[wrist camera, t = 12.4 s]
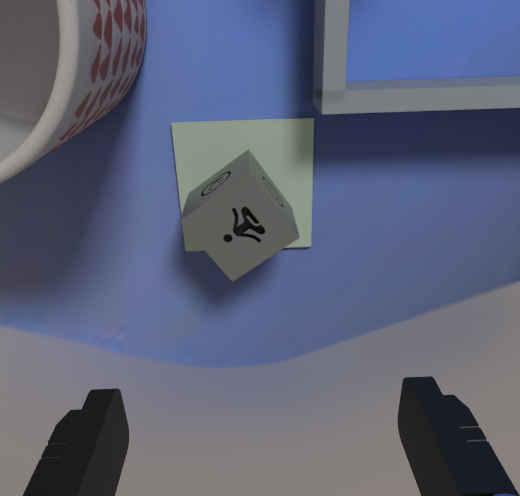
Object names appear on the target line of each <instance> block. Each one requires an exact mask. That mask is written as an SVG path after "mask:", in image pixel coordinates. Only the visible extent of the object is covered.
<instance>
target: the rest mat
mask: <svg viewBox="0 0 520 496" xmlns="http://www.w3.org/2000/svg"><path fill="white" fill-rule="evenodd" d="M171 126H172V135H173V144H174V153H175V162H176V171H177V181H178V190H179V199H180V208H181V215H182V212H183V209H184V206H185V203H186V200H187V197H188V194H189V192H191V191H192V190H193V189H195V188H196V187H197V186H199V185H200V184H202V183H203V182H204V181H206V180H207V179H208V178H210V177H211V176H212V175H214V174H215V173H217V172H218V171H219V170H221V169H222V168H223V167H225V166H226V165H228V164H229V163H230V162H232V161H233V160H234V159H236V158H237V157H238V156H240V155H241V154H243V153H244V152H245V151H247V150H248V149H249V151H250V152H251V153H252V155H253V156H254V157H255V159H256V160H257V161H258V163H259V164H260V165H261V167H262V168H263V169H264V171H265V172H266V173H267V175H268V176H269V177H270V179H271V180H272V181H273V183H274V184H275V185H276V187H277V188H278V189H279V191H280V192H281V193H282V195H283V196H284V197H285V199H286V200H287V202H288V203H289V204H290V206H291V207H292V210H293V214H294V218H295V221H296V225H297V229H298V233H299V237H300V238H299V239H297V240H296V241H294V242H293V243H291V244H290V245H288V246H286V247H285V248H290V247H311V227H312V186H313V145H314V118H288V119H259V120H229V121H200V122H172V123H171ZM182 226H183V225H182ZM183 235H184V244H185V252H186V251H205V250H204V249H203V248H202V247H201V246H200V245H199V243H198V242H197V241H196V240H195V239H194V238H193V237H192V236H191V234H190V233H189V232H188V231H187V230H186V229H185V228H184V226H183Z"/></svg>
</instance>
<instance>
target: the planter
mask: <svg viewBox="0 0 520 496" xmlns="http://www.w3.org/2000/svg"><path fill="white" fill-rule="evenodd" d="M146 32H147V18H146V6H145V0H0V183H2V182H4V181H6V180H8V179H10V178H11V177H13V176H15V175H17V174H18V173H20V172H21V171H23V170H24V169H26V168H27V167H29V166H30V165H32V164H33V163H35V162H36V161H38V160H39V159H41V158H42V157H44V156H45V155H47V154H48V153H50V152H51V151H53V150H54V149H56V148H57V147H59V146H60V145H62V144H63V143H65V142H66V141H68V140H69V139H71V138H72V137H74V136H75V135H77V134H78V133H80V132H81V131H83V130H84V129H86V128H87V127H89V126H90V125H92V124H93V123H95V122H96V121H98V120H99V119H101V118H102V117H103V116H105V115H106V114H107V113H109V112H110V111H111V110H112V109H113V108H114V107H115V106H116V105H117V104H118V103H119V102H120V101H121V100H122V98H123V97H124V96H125V95H126V93H127V92H128V90H129V89H130V87H131V85H132V84H133V82H134V80H135V78H136V76H137V73H138V71H139V68H140V65H141V62H142V58H143V54H144V49H145V43H146Z"/></svg>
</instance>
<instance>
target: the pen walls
mask: <svg viewBox="0 0 520 496" xmlns="http://www.w3.org/2000/svg"><path fill="white" fill-rule="evenodd" d="M349 2H350V0H315V2H314V47H313V92H312V103H313V105H314V106H315V107H316V108H317V109H318V110H319V112H320V113H321V114H350V113H379V112H409V111H439V110H468V109H498V108H520V76H508V77H477V78H447V79H416V80H385V81H355V82H345V79H346V60H347V41H348V22H349Z"/></svg>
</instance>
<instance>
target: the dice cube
mask: <svg viewBox="0 0 520 496" xmlns="http://www.w3.org/2000/svg"><path fill="white" fill-rule="evenodd" d="M179 222H180V223H181V224H182V225H183V226H184V228H185V229H186V230H187V231H188V232H189V233H190V234H191V236H192V237H193V238H194V239H195V240H196V241H197V242H198V243H199V245H200V246H201V247H202V248H203V249H204V250H205V251H206V253H207V254H208V255H209V256H210V257H211V258H212V259H213V261H214V262H215V263H216V264H217V265H218V266H219V267H220V268H221V270H222V271H223V272H224V273H225V274H226V275H227V276H228V278H229V279H230V280H231V281H232V282H233V281H235V280H236V279H238V278H239V277H241V276H242V275H244V274H245V273H247V272H248V271H250V270H251V269H253V268H254V267H256V266H257V265H259V264H261V263H262V262H264V261H265V260H267V259H268V258H270V257H271V256H273V255H274V254H276V253H277V252H279V251H280V250H282V249H283V248H285V247H286V246H288V245H290V244H291V243H293V242H294V241H296V240H297V239H299V238H300V237H299V233H298V229H297V225H296V221H295V218H294V214H293V210H292V207H291V206H290V204H289V203H288V202H287V200H286V199H285V197H284V196H283V195H282V193H281V192H280V191H279V189H278V188H277V187H276V185H275V184H274V183H273V181H272V180H271V179H270V177H269V176H268V175H267V173H266V172H265V171H264V169H263V168H262V167H261V165H260V164H259V163H258V161H257V160H256V159H255V157H254V156H253V155H252V153H251V152H250V151H249V149H248V150H247V151H245V152H244V153H243V154H241V155H240V156H238V157H237V158H236V159H234V160H233V161H232V162H230V163H229V164H228V165H226V166H225V167H223V168H222V169H221V170H219V171H218V172H217V173H215V174H214V175H212V176H211V177H210V178H208V179H207V180H206V181H204V182H203V183H202V184H200V185H199V186H197V187H196V188H195V189H193V190H192V191H191V192H189V194H188V197H187V200H186V203H185V206H184V209H183V212H182V215H181V218H180V221H179Z"/></svg>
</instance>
